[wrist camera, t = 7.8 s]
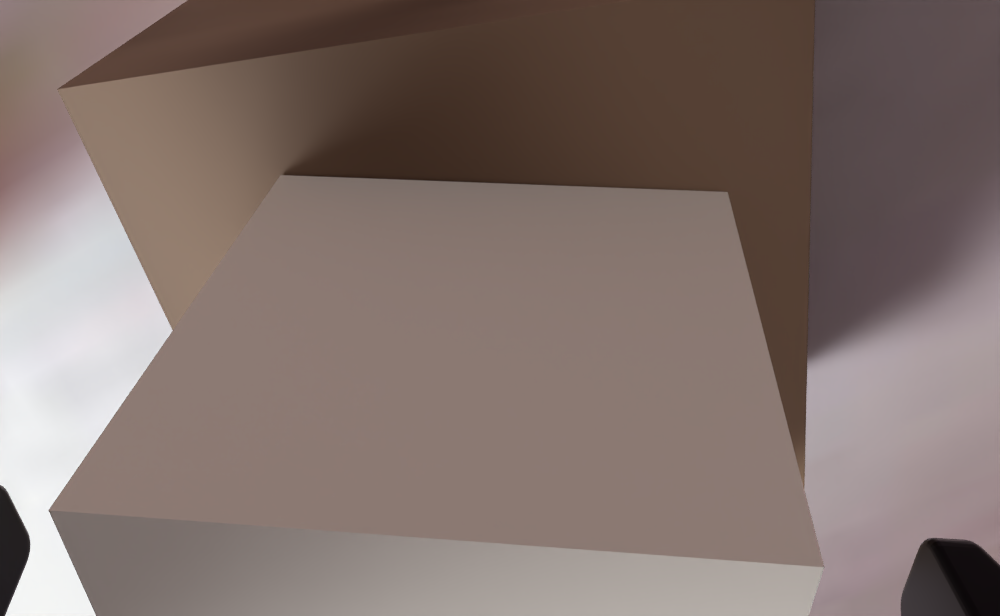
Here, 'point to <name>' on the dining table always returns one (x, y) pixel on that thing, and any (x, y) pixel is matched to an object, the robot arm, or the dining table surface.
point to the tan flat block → (462, 120)
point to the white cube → (455, 418)
